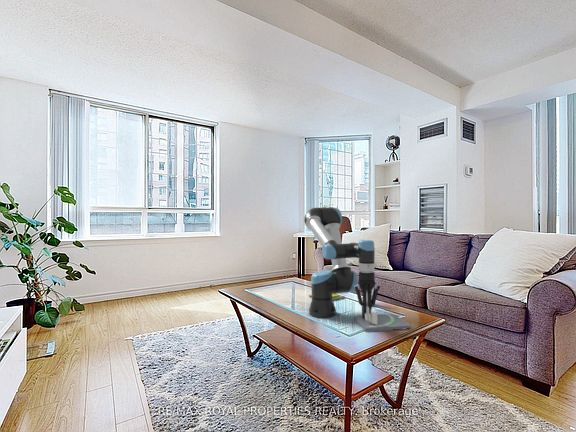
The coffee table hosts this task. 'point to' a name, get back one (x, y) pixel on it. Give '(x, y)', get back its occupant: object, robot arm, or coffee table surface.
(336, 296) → the wooden puzzle
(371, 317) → the white and grey lever
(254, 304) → the coffee table surface
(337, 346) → the coffee table surface
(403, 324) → the tuner board
